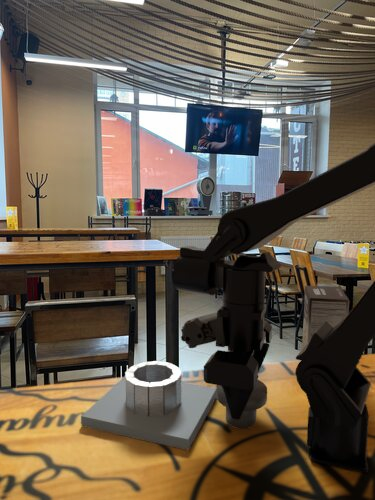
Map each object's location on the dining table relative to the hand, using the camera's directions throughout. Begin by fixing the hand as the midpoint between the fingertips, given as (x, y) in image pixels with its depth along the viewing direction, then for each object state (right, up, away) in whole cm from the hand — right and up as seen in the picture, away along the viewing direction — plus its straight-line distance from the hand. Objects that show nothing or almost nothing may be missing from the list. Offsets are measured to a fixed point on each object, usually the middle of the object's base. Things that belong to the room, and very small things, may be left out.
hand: (241, 404), depth 55 cm
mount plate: (-13, -2, +3) cm, 13 cm away
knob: (0, -2, 0) cm, 2 cm away
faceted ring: (-13, -1, +3) cm, 13 cm away
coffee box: (+16, -1, +13) cm, 20 cm away
